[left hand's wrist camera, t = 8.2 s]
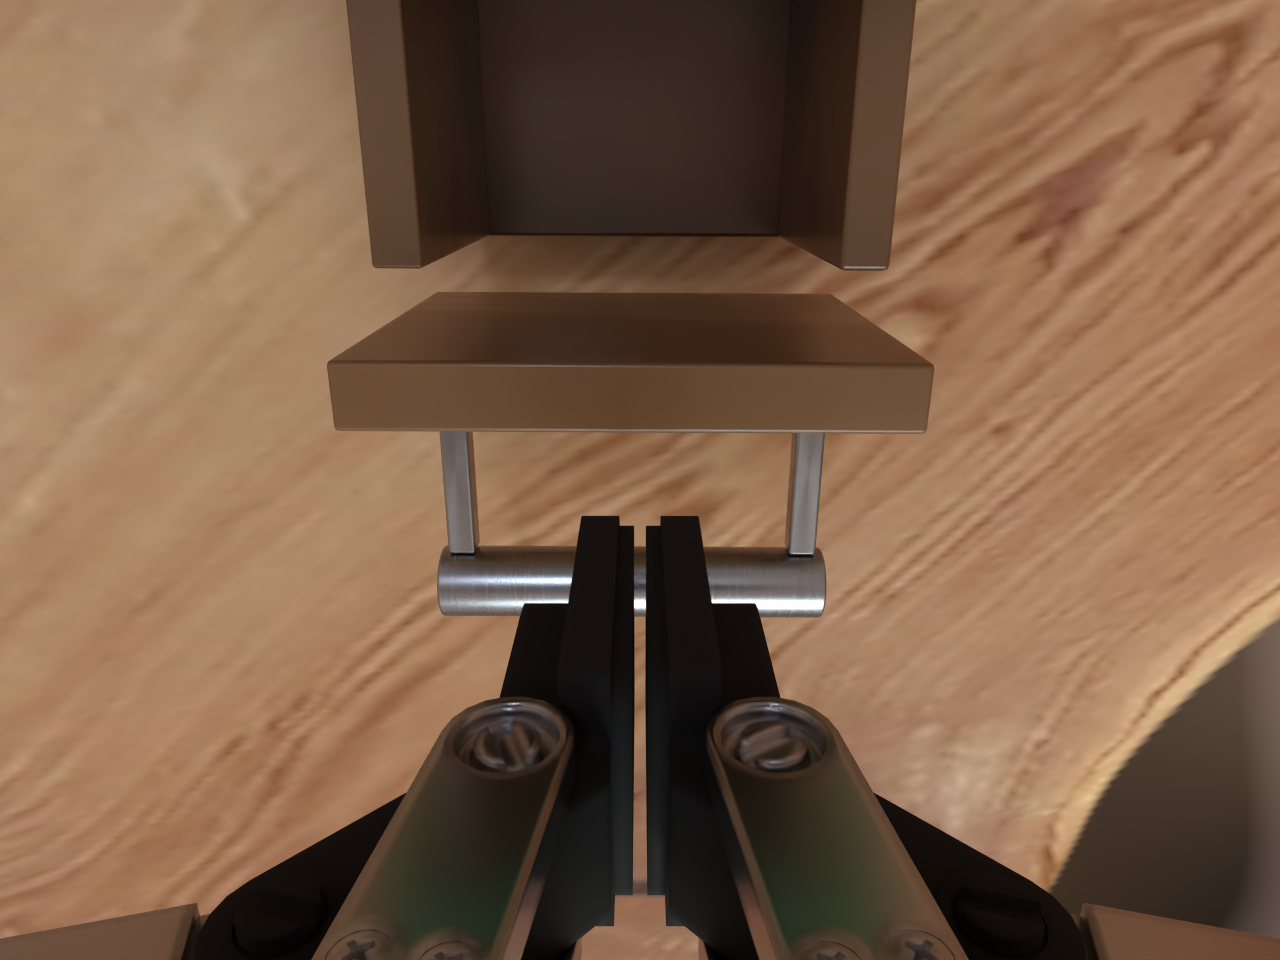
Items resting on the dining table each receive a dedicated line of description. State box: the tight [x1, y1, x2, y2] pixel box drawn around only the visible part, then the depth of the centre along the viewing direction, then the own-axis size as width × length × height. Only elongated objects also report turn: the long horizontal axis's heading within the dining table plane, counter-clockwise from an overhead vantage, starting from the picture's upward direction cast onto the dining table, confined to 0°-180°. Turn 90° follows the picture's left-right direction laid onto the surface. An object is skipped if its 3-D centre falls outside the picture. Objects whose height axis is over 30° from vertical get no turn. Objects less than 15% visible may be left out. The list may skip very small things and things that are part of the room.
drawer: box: [327, 0, 934, 617], centre depth 17 cm, size 20×10×8 cm, turn 0°
